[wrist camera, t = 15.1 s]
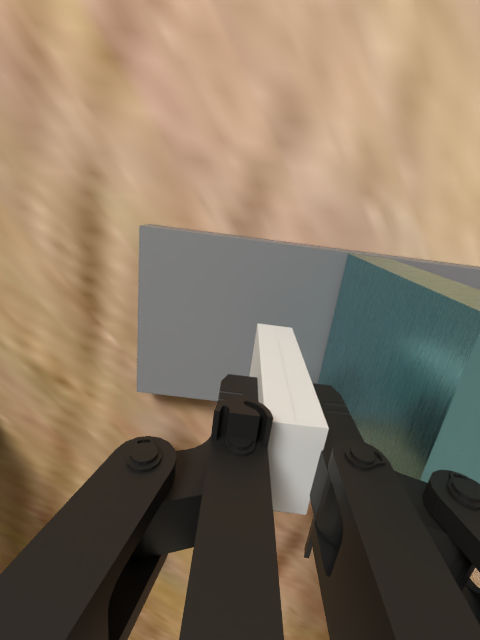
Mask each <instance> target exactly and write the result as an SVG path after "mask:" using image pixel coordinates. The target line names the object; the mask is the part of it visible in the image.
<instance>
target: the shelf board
mask: <svg viewBox="0 0 480 640" xmlns="http://www.w3.org/2000/svg"><path fill="white" fill-rule="evenodd" d="M348 253H350V254H358V255H365V256H373V257H381V258H389V259H393V260H396V261H398V262H401V263H404V264H407V265H410V266H413V267H416V268H419V269H421V270H424V271H427V272H430V273H433V274H436V275H439V276H442V277H444V278H447V279H450V280H453V281H456V282H459V283H462V284H465V285H468V286H470V287H473V288H476V289H479V290H480V267H476V266H468V265H460V264H453V263H445V262H437V261H429V260H422V259H414V258H406V257H398V256H391V255H383V254H375V253H367V252H360V251H352V250H344V249H336V248H329V247H321V246H313V245H305V244H298V243H290V242H282V241H274V240H267V239H259V238H251V237H243V236H236V235H228V234H220V233H213V232H205V231H197V230H189V229H182V228H174V227H166V226H158V225H151V224H148V225H141V226H140V229H139V290H138V352H137V392H144V393H152V394H161V395H169V396H177V397H186V398H194V399H203V400H211V401H218V397H219V391H220V385H221V381H222V380H223V379H224V378H225V377H226V376H227V375H228V374H233V375H241V376H249V375H250V369H251V362H252V356H253V349H254V343H255V336H256V330H257V323H258V324H266V325H274V326H282V327H290V328H292V329H293V332H294V335H295V338H296V340H297V343H298V346H299V348H300V351H301V354H302V357H303V359H304V362H305V365H306V367H307V370H308V373H309V376H310V378H311V381H312V383H315V384H318V379H319V375H320V371H321V367H322V362H323V358H324V354H325V349H326V345H327V341H328V337H329V332H330V328H331V324H332V320H333V315H334V311H335V307H336V303H337V298H338V294H339V290H340V286H341V281H342V277H343V273H344V269H345V264H346V260H347V256H348Z"/></svg>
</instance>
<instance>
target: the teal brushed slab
mask: <svg viewBox="0 0 480 640" xmlns="http://www.w3.org/2000/svg"><path fill="white" fill-rule="evenodd" d="M318 384H323V385H331V386H332V387H333V388H334V389H335V390H336V391H337V392H338V393H340V394H341V396H342V398H343V400H344V402H345V404H346V406H347V408H348V410H349V412H350V415H351V416H352V418H353V420H354V422H355V424H356V426H357V428H358V430H359V432H360V434H361V436H362V438H363V440H364V442H365V443H367V444H369V445H372V446H374V447H375V448H376V449H378V450H379V451H380V452H381V453H383V454H384V456H385V457H386V458H387V460H388V461H389V462H390V464H391V466H392V468H393V469H394V471H397V472H399V473H401V474H404V475H407V476H410V477H412V478H415V479H418V480H421V481H424V482H427V483H428V481H429V478H430V476H431V475H432V473H433V472H434V471H437V470H451V471H454V472H457V473H460V474H463V475H465V476H467V477H469V478H471V479H472V480H474V481H476V482H478V483H479V484H480V290H479V289H476V288H473V287H470V286H468V285H465V284H462V283H459V282H456V281H453V280H450V279H447V278H444V277H442V276H439V275H436V274H433V273H430V272H427V271H424V270H421V269H419V268H416V267H413V266H410V265H407V264H404V263H401V262H398V261H396V260H393V259H389V258H381V257H373V256H365V255H358V254H350V253H348V256H347V260H346V264H345V269H344V273H343V277H342V281H341V286H340V290H339V294H338V298H337V303H336V307H335V311H334V315H333V320H332V324H331V328H330V332H329V337H328V341H327V345H326V349H325V354H324V358H323V362H322V367H321V371H320V375H319V379H318Z"/></svg>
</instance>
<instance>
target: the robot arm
mask: <svg viewBox="0 0 480 640" xmlns="http://www.w3.org/2000/svg"><path fill="white" fill-rule="evenodd" d="M310 499H311V504H312V509H313V513H314V516H313V520H312V524H311V527H310V531H309V534H308V538H307V542H306V545H305V554H304V558H309V556H310V552H311V549H312V547H313V552H314V557H315V563H316V568H317V573H318V579H319V584H320V589H321V595H322V600H323V605H324V610H325V616H326V621H327V626H328V632H329V637H330V640H480V588H479V587H477V586H476V585H475V584H474V583H473V582H472V581H471V579H470V576H471V574H472V573H473V571H474V569H475V567H476V568H477V570H478V571H479V572H480V484H479V483H478V482H476V481H474V480H472V479H471V478H469V477H467V476H465V475H463V474H460V473H457V472H454V471H451V470H437V471H434V472H433V473H432V475H431V476H430V478H429V481H428V483H427V482H424V481H421V480H418V479H415V478H412V477H410V476H407V475H404V474H401V473H399V472H397V471H394V469H393V468H392V466H391V464H390V462H389V461H388V460H387V458H386V457H385V456H384V454H383V453H381V452H380V451H379V450H378V449H376V448H375V447H374V446H372V445H369V444H367V443H365V442H364V440H363V438H362V436H361V434H360V432H359V430H358V428H357V426H356V424H355V422H354V420H353V418H352V416H351V415H350V412H349V410H348V408H347V406H346V404H345V402H344V400H343V398H342V396H341V394H340V393H338V392H337V391H336V390H335V389H334V388H333V387H332V386H331V385H323V384H315V383H312V381H311V378H310V376H309V373H308V370H307V367H306V365H305V362H304V359H303V357H302V354H301V351H300V348H299V346H298V343H297V340H296V338H295V335H294V332H293V329H292V328H290V327H282V326H274V325H266V324H258V323H257V330H256V336H255V343H254V349H253V356H252V362H251V369H250V375H249V376H241V375H233V374H228V375H227V376H226V377H225V378H224V379H223V380H222V381H221V385H220V391H219V397H218V404H217V406H216V408H215V410H214V417H213V426H212V435H211V437H210V438H209V439H208V440H207V441H206V442H205V443H203V444H202V445H200V446H197V447H195V448H191V449H187V450H180V451H175V449H174V448H173V447H172V445H171V444H170V443H169V442H167V441H165V440H163V439H161V438H158V437H151V436H145V437H137V438H134V439H132V440H129V441H127V442H125V443H123V444H122V445H121V446H120V447H118V448H117V449H116V450H115V451H114V452H113V453H112V454H111V455H110V456H109V457H108V459H107V460H106V461H105V462H104V463H103V464H102V465H101V466H100V467H99V468H98V469H97V470H96V471H95V473H94V474H93V475H92V476H91V477H90V478H89V479H88V480H87V481H86V482H85V483H84V484H83V486H82V487H81V488H80V489H79V490H78V491H77V492H76V493H75V494H74V495H73V496H72V497H71V499H70V500H69V501H68V502H67V503H66V504H65V505H64V506H63V507H62V508H61V509H60V510H59V512H58V513H57V514H56V515H55V516H54V517H53V518H52V519H51V520H50V521H49V522H48V523H47V525H46V526H45V527H44V528H43V529H42V530H41V531H40V532H39V533H38V534H37V535H36V536H35V537H34V539H33V540H32V541H31V542H30V543H29V544H28V545H27V546H26V547H25V548H24V549H23V550H22V552H21V553H20V554H19V555H18V556H17V557H16V558H15V559H14V560H13V561H12V562H11V563H10V565H9V566H8V567H7V568H6V569H5V570H4V571H3V572H2V573H1V574H0V640H127V639H128V637H129V635H130V633H131V631H132V629H133V627H134V625H135V623H136V621H137V618H138V616H139V614H140V612H141V610H142V608H143V606H144V604H145V602H146V600H147V598H148V595H149V593H150V591H151V589H152V587H153V585H154V583H155V581H156V579H157V577H158V575H159V572H160V570H161V568H162V566H163V564H164V562H165V560H166V558H167V555H168V553H171V552H175V551H179V550H183V549H188V548H192V547H194V550H193V556H192V562H191V569H190V575H189V581H188V588H187V594H186V600H185V607H184V613H183V619H182V625H181V632H180V638H179V640H284V635H283V623H282V611H281V600H280V588H279V576H278V564H277V552H276V540H275V528H274V516H273V511H278V512H287V513H295V514H304V515H306V513H307V509H308V506H309V502H310Z"/></svg>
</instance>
